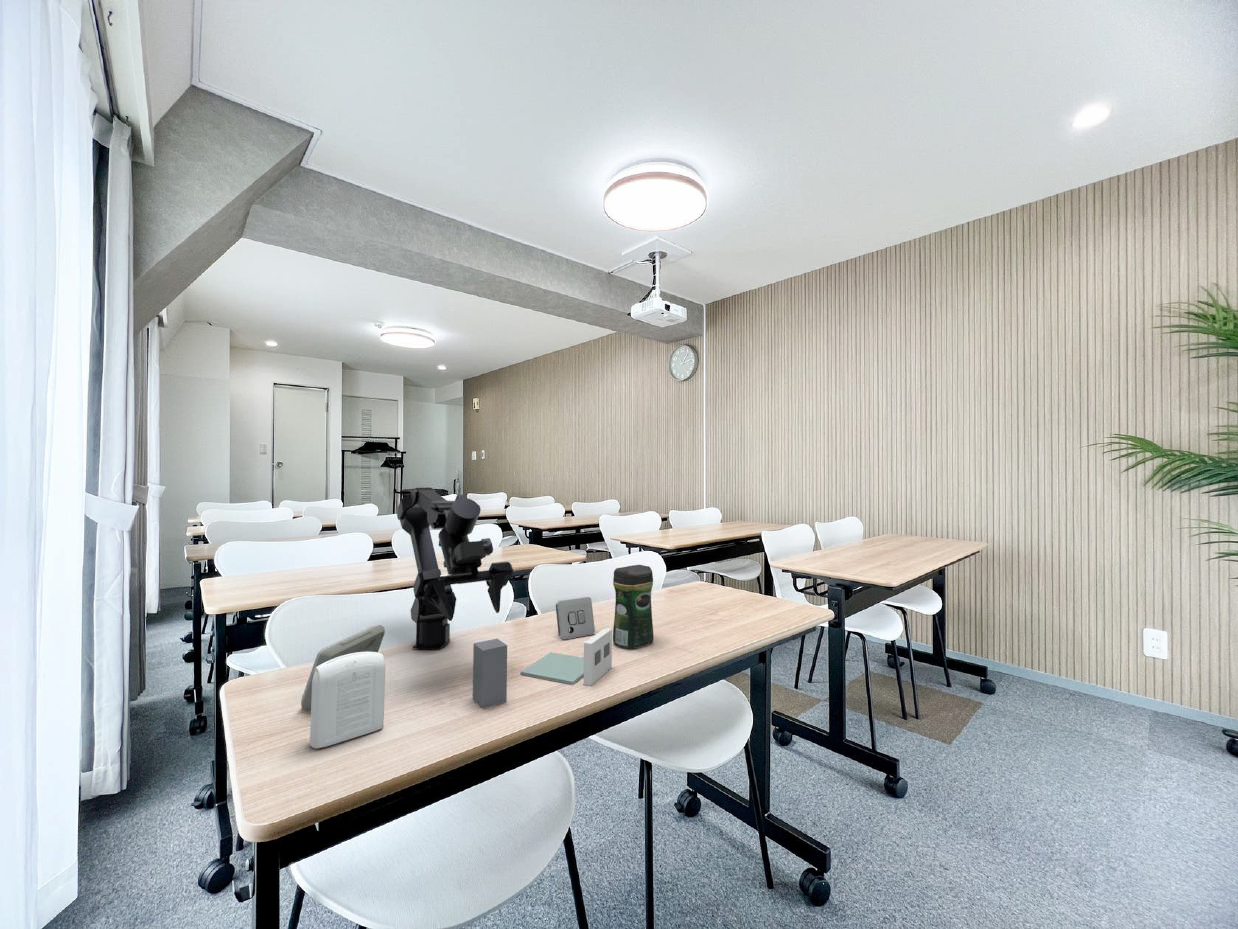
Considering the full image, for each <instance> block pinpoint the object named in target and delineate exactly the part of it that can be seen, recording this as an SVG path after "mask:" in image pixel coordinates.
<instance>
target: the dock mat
mask: <svg viewBox="0 0 1238 929" xmlns="http://www.w3.org/2000/svg"><path fill="white" fill-rule="evenodd" d="M519 674H520V675H521V676H524V677H531V678H534V679H540V680H541V679H542V680H547V681H551V682H556V683H561V684H567V685H572V686H574V685H575V684H576V683H578V682H579V681H580V680H581V679H582V678H584V657H581V656H577V655H576V656H574V655H571V654H570V655H569V654H565V653H564V654H563V653H557V652H552V651H551V652H548V653H547V654H546V655H544V656H543V657H541V658H539V659H538V660H536V661H535V662H533V663H532V664H530V665H529V666H526V668H525V667H524V669H522V670H521V671H520V673H519Z"/></svg>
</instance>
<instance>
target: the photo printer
mask: <svg viewBox="0 0 1238 929" xmlns="http://www.w3.org/2000/svg"><path fill="white" fill-rule="evenodd" d="M385 687H386V661H385V655H383V654H382V653H381V652H379V651H378V652H356V653H351V654H346V655H343V656H339V657H336V658H334V659H331V660H329V661H327V662H325V663H323V664H321V665H319V666H317V667H316V668H315V670H314V676H313V679H312V701H311V710H310V728H309V729H310V731H309V732H310V733H309V734H310V735H309V736H310V737H309V746H310V747H312V748H313V749H316V750H317V749H321V748H326V747H328V746H333V745H335V744H339V743H342V742H345V741H349V740H352V739H354V738H357V737H361V736H364V735H367V734H371V733H373V732H377V731H378V730H382V728H384V725H385V724H384V722H385V721H384V719H385V690H386V688H385Z"/></svg>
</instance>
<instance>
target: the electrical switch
mask: <svg viewBox="0 0 1238 929" xmlns="http://www.w3.org/2000/svg"><path fill="white" fill-rule="evenodd" d="M592 602H593V600H592V598H591V597H590V596H585V597H577V598H570V599H562V600H558V601H557V602H556V604H555V611H556V612H555V613H556V622H557V633H558V634H557V635H558V637H559V638H560V639H561V640H562V641H564V640H565V641H566V640H569V639H574V638H575V639H576V638H582V637H586V636H592V635H593V636H594V635H595V633H596V627H595V619H594V618H595V617H594V610H593V603H592Z"/></svg>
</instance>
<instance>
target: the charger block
mask: <svg viewBox="0 0 1238 929" xmlns="http://www.w3.org/2000/svg"><path fill="white" fill-rule="evenodd" d="M472 650H473V656H472V658H473V659H472V660H473V662H472V663H473V664H472V701H473V702H475V703H476V704H477V706H478V707H479V708H481V710H484V709H487V708H491V707H493V706H497V705H502V704H504V703H507V700H508V699H507V698H508V697H507V694H508V691H507V690H508V689H507V688H508V644H507V643H505V642H503V641H502V640H500V639H499V638H494V639H493V638H492V639H488V640H483V641H477V642H474V643H473V649H472Z"/></svg>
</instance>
